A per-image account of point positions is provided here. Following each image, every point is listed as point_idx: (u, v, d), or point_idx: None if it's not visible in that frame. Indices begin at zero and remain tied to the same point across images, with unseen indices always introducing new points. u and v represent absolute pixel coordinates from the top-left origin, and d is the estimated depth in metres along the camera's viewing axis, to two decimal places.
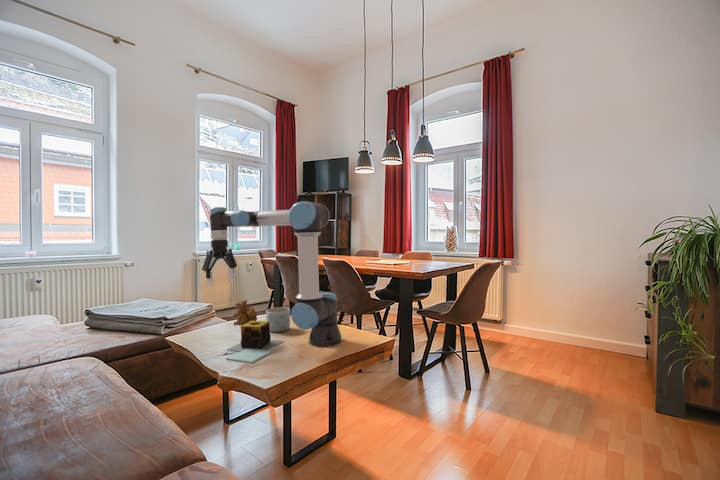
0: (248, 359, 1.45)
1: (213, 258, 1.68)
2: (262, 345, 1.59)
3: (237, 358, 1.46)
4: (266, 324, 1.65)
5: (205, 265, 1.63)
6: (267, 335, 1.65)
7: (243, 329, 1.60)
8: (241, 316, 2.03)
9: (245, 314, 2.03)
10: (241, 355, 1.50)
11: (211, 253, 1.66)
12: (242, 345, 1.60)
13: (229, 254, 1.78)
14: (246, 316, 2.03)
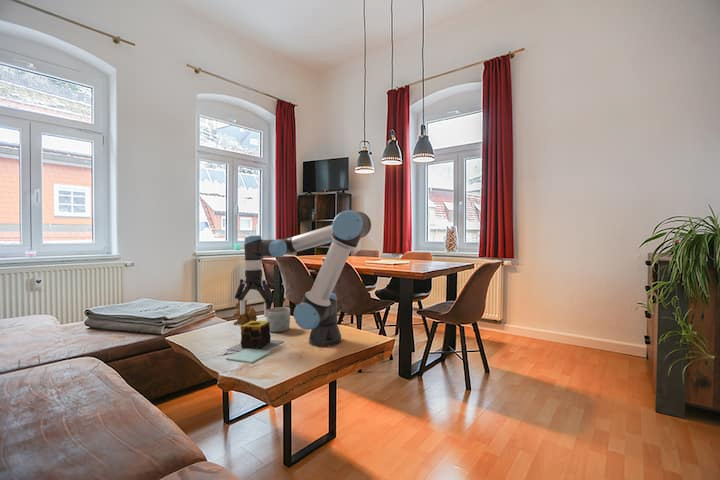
0: (248, 359, 1.45)
1: None
2: (262, 345, 1.59)
3: (237, 358, 1.46)
4: (266, 324, 1.65)
5: None
6: (267, 335, 1.65)
7: (243, 329, 1.60)
8: (241, 316, 2.03)
9: (245, 314, 2.03)
10: (241, 355, 1.50)
11: (240, 282, 1.64)
12: (242, 345, 1.60)
13: None
14: (246, 316, 2.03)
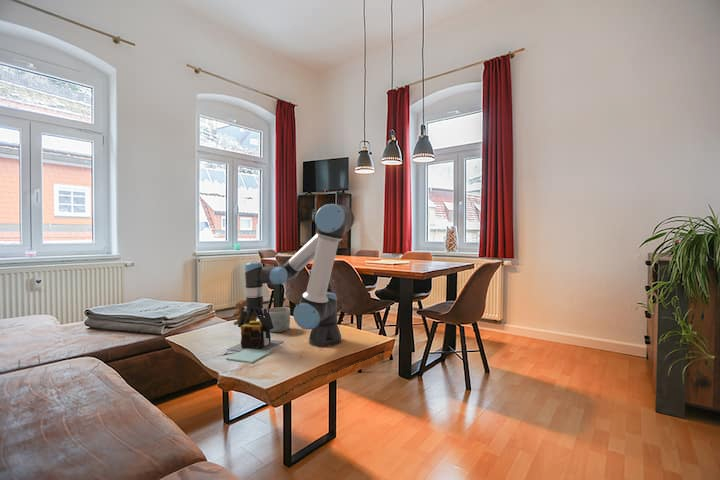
0: (248, 359, 1.45)
1: None
2: (262, 345, 1.59)
3: (237, 358, 1.46)
4: None
5: None
6: None
7: (243, 329, 1.60)
8: None
9: None
10: (241, 355, 1.50)
11: (242, 310, 1.65)
12: (242, 345, 1.60)
13: None
14: (246, 316, 2.04)
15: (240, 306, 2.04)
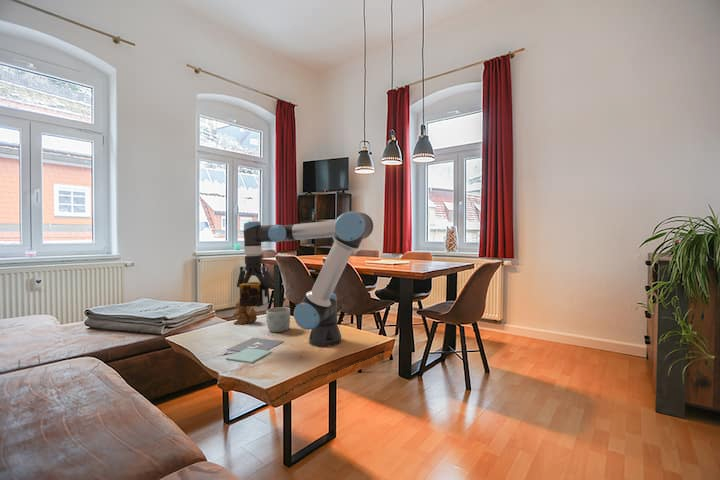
0: (248, 359, 1.45)
1: None
2: (261, 303, 1.59)
3: (237, 358, 1.46)
4: None
5: None
6: None
7: (242, 288, 1.59)
8: (241, 316, 2.04)
9: (245, 314, 2.04)
10: (241, 355, 1.50)
11: (240, 270, 1.64)
12: (241, 304, 1.59)
13: None
14: (246, 316, 2.04)
15: (240, 306, 2.04)
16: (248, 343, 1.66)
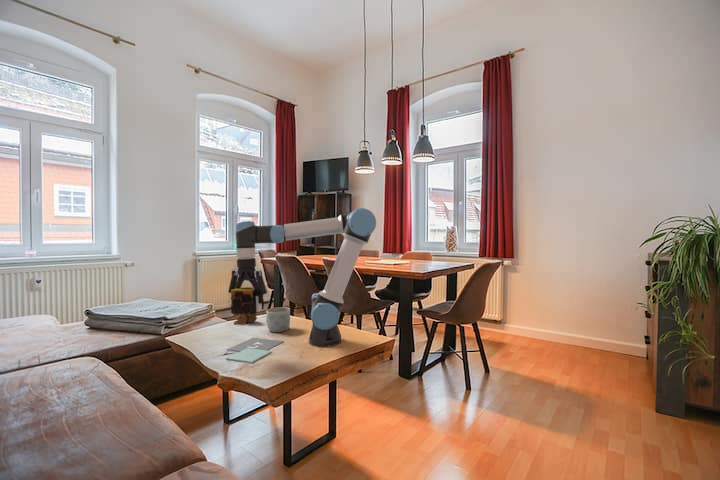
0: (248, 359, 1.45)
1: None
2: (254, 311, 1.46)
3: (237, 358, 1.46)
4: None
5: None
6: None
7: (234, 294, 1.46)
8: (241, 316, 2.04)
9: None
10: (241, 355, 1.50)
11: (232, 274, 1.51)
12: (232, 311, 1.46)
13: None
14: (246, 315, 2.04)
15: None
16: (248, 343, 1.66)
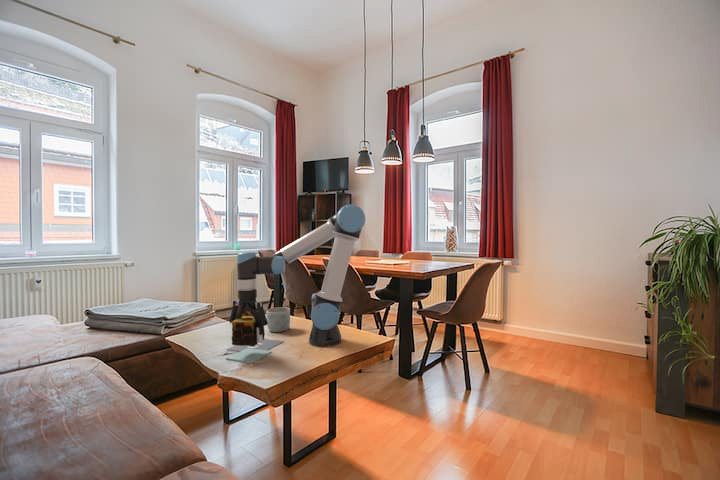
0: (248, 359, 1.45)
1: None
2: (255, 342, 1.46)
3: (237, 358, 1.46)
4: None
5: None
6: None
7: (235, 325, 1.46)
8: None
9: (245, 313, 2.05)
10: (241, 355, 1.50)
11: (233, 304, 1.51)
12: (233, 342, 1.46)
13: None
14: (246, 315, 2.05)
15: None
16: None
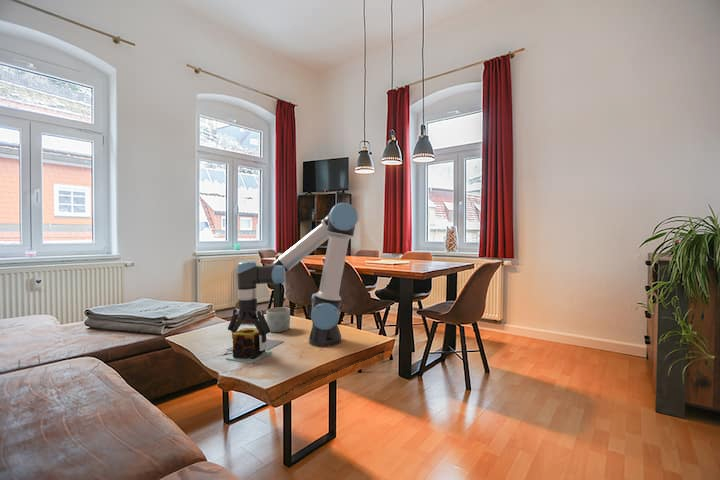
0: (248, 359, 1.45)
1: None
2: (256, 355, 1.46)
3: (237, 358, 1.46)
4: None
5: None
6: None
7: (235, 338, 1.47)
8: None
9: None
10: None
11: (234, 313, 1.51)
12: (234, 355, 1.47)
13: None
14: None
15: None
16: None
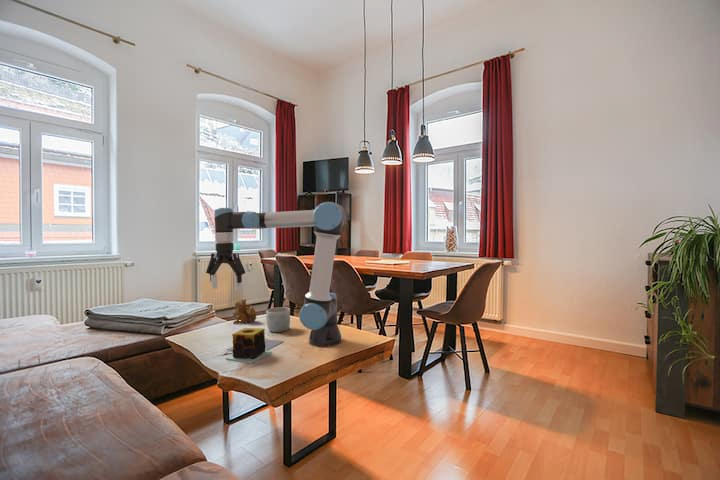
0: (248, 359, 1.45)
1: None
2: (256, 355, 1.46)
3: (237, 358, 1.46)
4: (260, 332, 1.51)
5: None
6: (261, 344, 1.52)
7: (235, 338, 1.47)
8: (241, 315, 2.05)
9: (245, 313, 2.06)
10: None
11: (211, 256, 1.61)
12: (234, 355, 1.47)
13: None
14: (246, 315, 2.05)
15: (240, 305, 2.05)
16: None
